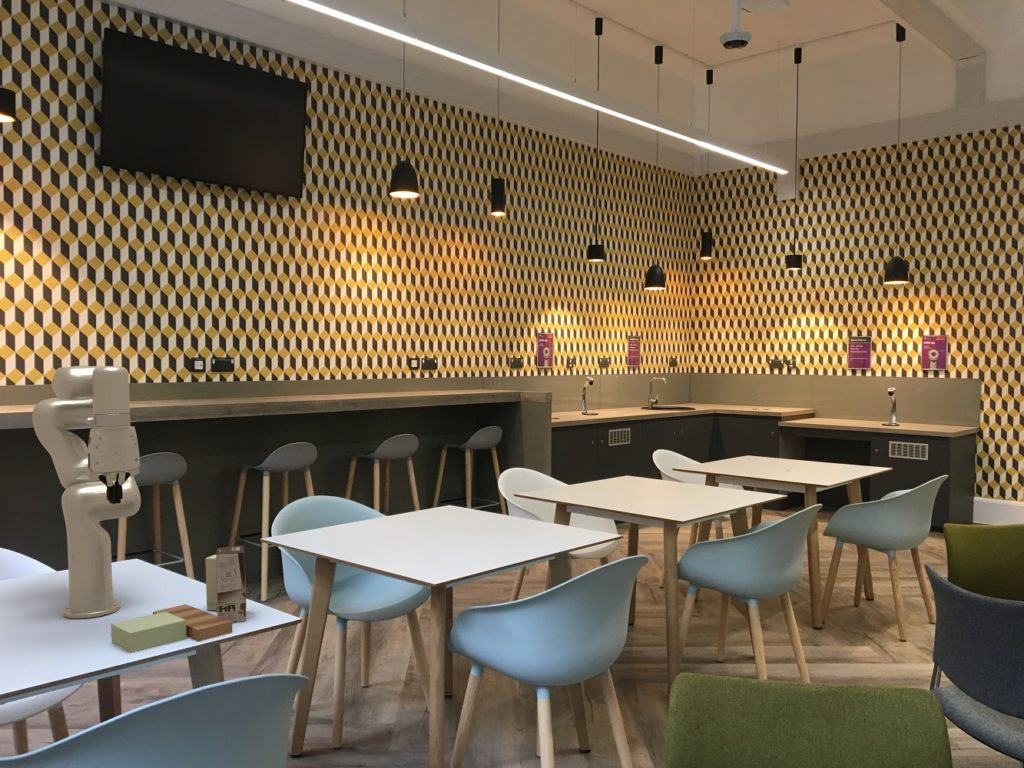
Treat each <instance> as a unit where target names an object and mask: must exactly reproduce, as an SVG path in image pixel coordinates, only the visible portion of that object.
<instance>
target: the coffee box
mask: <svg viewBox="0 0 1024 768" xmlns="http://www.w3.org/2000/svg"><path fill="white" fill-rule="evenodd" d="M215 555H216V570H217V602H218V610H217V616H219V617H222V618H225V619H227V620H230V621H232V623H239V622H240V623H241V622H246V620H247V582H246V581H247V579H246V577H247V576H246V575H247V574H246V553H245V545H235V546H234V545H231V546H225V547H217V548H216V554H215Z"/></svg>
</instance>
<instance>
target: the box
mask: <svg viewBox="0 0 1024 768" xmlns="http://www.w3.org/2000/svg"><path fill="white" fill-rule="evenodd" d="M204 560H205V589H206V593H205V594H206V610H207V611H218V602H217V570H216V554H214V555H213V554H212V555H211V556H208V557H205V558H204Z"/></svg>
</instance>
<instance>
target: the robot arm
mask: <svg viewBox="0 0 1024 768" xmlns="http://www.w3.org/2000/svg"><path fill="white" fill-rule="evenodd" d="M129 377H130V376H129V370H128V369H127V368H126V367H124V366H116V365H99V366H98V365H93V366H90V365H89V366H88V365H75V366H64V367H58V368H57V369H56V370H55V372H54V375H53V376H52V379H51V388H52V390H53V393H54V394H55V397H51V398H47V399H44V400H41V401H39V402H37V404H35V406H34V408H32V409H33V410H32V415H31V416H32V417H31V419H32V425H33V429H34V432H35V435H36V436H37V438H38V440H39V442H40V443H41V445H42V447H43V448H45V450H46V451H47V452H48V454H49V455H50V457H51V459H52V462H53V465H54V468H55V472H56V474H57V477H58V479H59V481H60V484H61V485H62V487H63V488H64V489H65V490H64V492H63V493H62V495H61V508H62V513H63V518H64V523H65V528H66V529H65V530H66V541H67V562H68V563H67V564H68V566H67V567H68V589H69V591H68V592H69V606H67V607H66V608H65V607H64V608H63V610H62V616H63V617H65V618H68V619H88V618H95V617H102V616H106V615H109V614H113V613H115V612H117V611H119V609H120V608H121V603H120V602H119V601H117V600H114V592H113V591H114V590H113V571H112V570H113V565H112V541H111V540H112V539H111V537H110V534H109V532H108V531H107V530H106V529H104V527H102V526H101V525H100V523H99V522H101V521H106V520H115V519H122V518H127V517H129V518H130V517H131V516H134V515H135V514H137V513H138V512H139V510H140V508H141V506H142V505H141V502H142V500H141V499H142V498H141V493H140V490H139V486H138V485H137V481H136V480H135V476H137V475H139V474H140V465H141V461H140V460H141V459H140V450H139V449H140V448H139V442H138V436H137V432H136V427H135V426H131V412H130V411H131V409H130V408H131V407H130V405H131V404H130V402H131V401H130V378H129ZM79 429H81V430H82V429H83V430H84V429H90V432H89V436H88V446H87V444H86V442H85V441H84V440H83V439H82V438H80V436H79V435H77V434H76V433H73V432H71V431H69V430H79Z"/></svg>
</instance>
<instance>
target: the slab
mask: <svg viewBox="0 0 1024 768" xmlns="http://www.w3.org/2000/svg"><path fill="white" fill-rule="evenodd" d="M110 626H111V627H110V628H111V629H110V631H111V633H110V635H111V644H113V645H115V646H116V647H118V646H119V647H118V648H120V647H121V649H122V650H123V651H126V652H128V653H130V654H133V653H136V652H135V651H137V652H140V651H139V650H141V651H145V650H148V648H149V649H152V647H153V648H157V647H162V646H164V645H169V644H172V643H175V642H176V643H177V642H179V641H184V640H187V637H186V620H184V619H182V618H180V617H177V616H175V615H172V614H170V613H168V612H162V613H158V614H153V613H152V614H149V615H145V616H141V617H135V618H132V619H128V620H123V621H119V622H113V623H111V624H110ZM144 649H145V650H144ZM132 652H133V653H132Z"/></svg>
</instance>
